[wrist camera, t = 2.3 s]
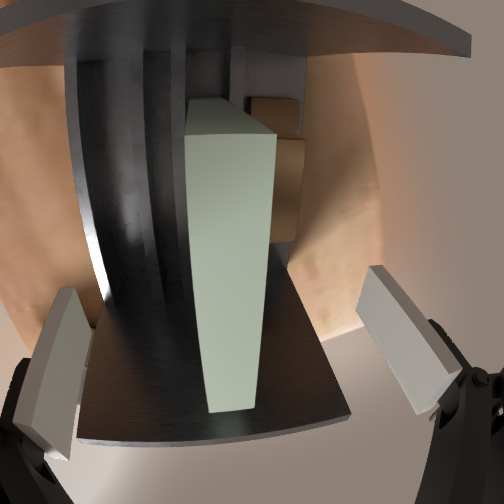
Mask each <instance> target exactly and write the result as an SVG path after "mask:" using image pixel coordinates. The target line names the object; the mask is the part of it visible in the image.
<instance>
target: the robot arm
mask: <svg viewBox="0 0 504 504" xmlns="http://www.w3.org/2000/svg"><path fill="white" fill-rule="evenodd" d="M356 312H357V314H358V315H359V317H360V318H361V320H362V322H363V323H364V325H365V327H366V328H367V330H368V331H369V333H370V335H371V336H372V338H373V340H374V341H375V343H376V345H377V346H378V348H379V350H380V351H381V353H382V355H383V356H384V358H385V360H386V362H387V363H388V365H389V367H390V368H391V370H392V372H393V374H394V375H395V377H396V379H397V381H398V382H399V384H400V386H401V388H402V389H403V391H404V393H405V395H406V397H407V398H408V400H409V402H410V404H411V405H412V407H413V409H414V411H415V413H416V414H417V415H419V414H421V413H423V412H426V411H428V410H430V409H431V408H432V407H433V406H434V404H435V403H436V402H437V401H438V403H439V405H440V407H439V408H438V409H437V410H436V411H435V412H434V413H433V414H432V416H431V417H430V419H429V421H432V420H433V418H434V417H435V416H436V420H435V421H434V422H435V426H434V431H433V436H432V441H431V446H430V450H429V454H428V458H427V462H426V466H425V470H424V474H423V477H422V481H421V485H420V488H419V491H418V494H417V497H416V501H415V504H504V413H503V414H502V415H499V410H500V409H501V408H502V407H503V412H504V368H503V369H502V370H501V371H500V373H494V374H488V373H487V372H486V371H485V370H483V369H481V368H478V367H473V368H472V367H471V366H470V364H469V363H468V362H467V360H466V359H465V358H464V356H463V355H462V354H461V352H460V351H459V349H458V348H457V347H456V345H455V344H454V343H452V340H451V339H450V337H449V336H447V333H446V332H445V331H444V330H443V328H442V327H441V326H440V325H439V324H437V323H436V322H435V321H433V320H432V319H430V320H427V319H426V318H425V316H424V315H423V314H422V313H421V312H420V310H419V309H418V308H417V306H416V305H415V304H414V303H413V301H412V300H411V299H410V298H409V296H408V295H407V294H406V293H405V292H404V290H403V289H402V288H401V287H400V286H399V284H398V283H397V282H396V281H395V280H394V278H393V277H392V276H391V275H390V274H389V272H388V271H387V270H386V269H385V268H384V267H383V265H376V266H369V267H368V271H367V274H366V278H365V281H364V285H363V288H362V291H361V295H360V298H359V301H358V304H357V307H356ZM91 336H92V331H91V328H90V326H89V324H88V321H87V319H86V316H85V313H84V311H83V308H82V305H81V303H80V300H79V297H78V294H77V292H76V289H75V287H67V288H60V289H59V291H58V293H57V296H56V298H55V300H54V302H53V305H52V307H51V309H50V312H49V314H48V316H47V319H46V321H45V323H44V326H43V328H42V331H41V334H40V336H39V339H38V341H37V344H36V347H35V349H34V352H33V355H32V358H23V359H22V360H21V362H20V363H19V364H18V365H17V367H16V368H15V371H14V374H13V377H12V381H11V383H10V386H9V390H8V392H7V396H6V399H5V402H4V406H3V409H2V413H1V417H0V504H74V503H73V501H72V500H71V499H70V497H69V496H68V494H67V493H66V492H65V490H64V489H63V487H62V486H61V484H60V483H59V481H58V480H57V478H56V476H55V475H54V473H53V472H52V470H51V468H50V467H49V465H48V463H47V462H46V461H45V460H44V452H46V453H47V454H48V455H49V456H51V457H52V458H56V459H62V460H68V461H69V459H70V458H69V457H70V449H71V440H72V433H73V426H74V419H75V413H76V407H77V401H78V395H79V390H80V385H81V380H82V375H83V370H84V365H85V361H86V357H87V352H88V348H89V344H90V340H91Z"/></svg>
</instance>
